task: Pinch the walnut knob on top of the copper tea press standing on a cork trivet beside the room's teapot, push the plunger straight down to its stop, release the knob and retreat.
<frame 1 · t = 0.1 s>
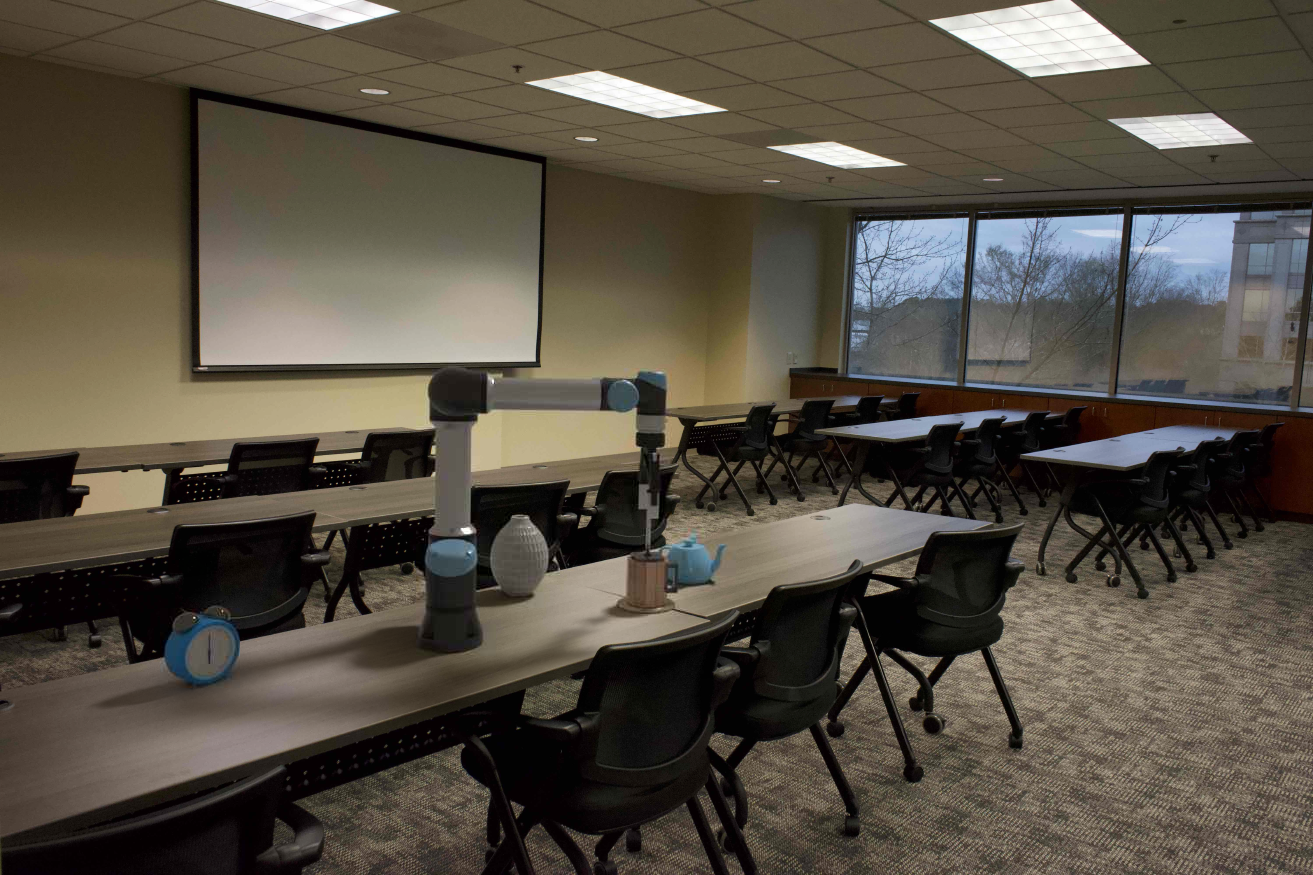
hand: (648, 513, 239), 28 cm above the table, fingers open, 13 cm apart
vase: (518, 594, 264), on the table
alarm clock: (203, 682, 190), on the table
teapot: (690, 580, 286), on the table
plunger: (648, 529, 254), point 21 cm above the table, slide at 0.0 cm
press: (646, 605, 256), on the table
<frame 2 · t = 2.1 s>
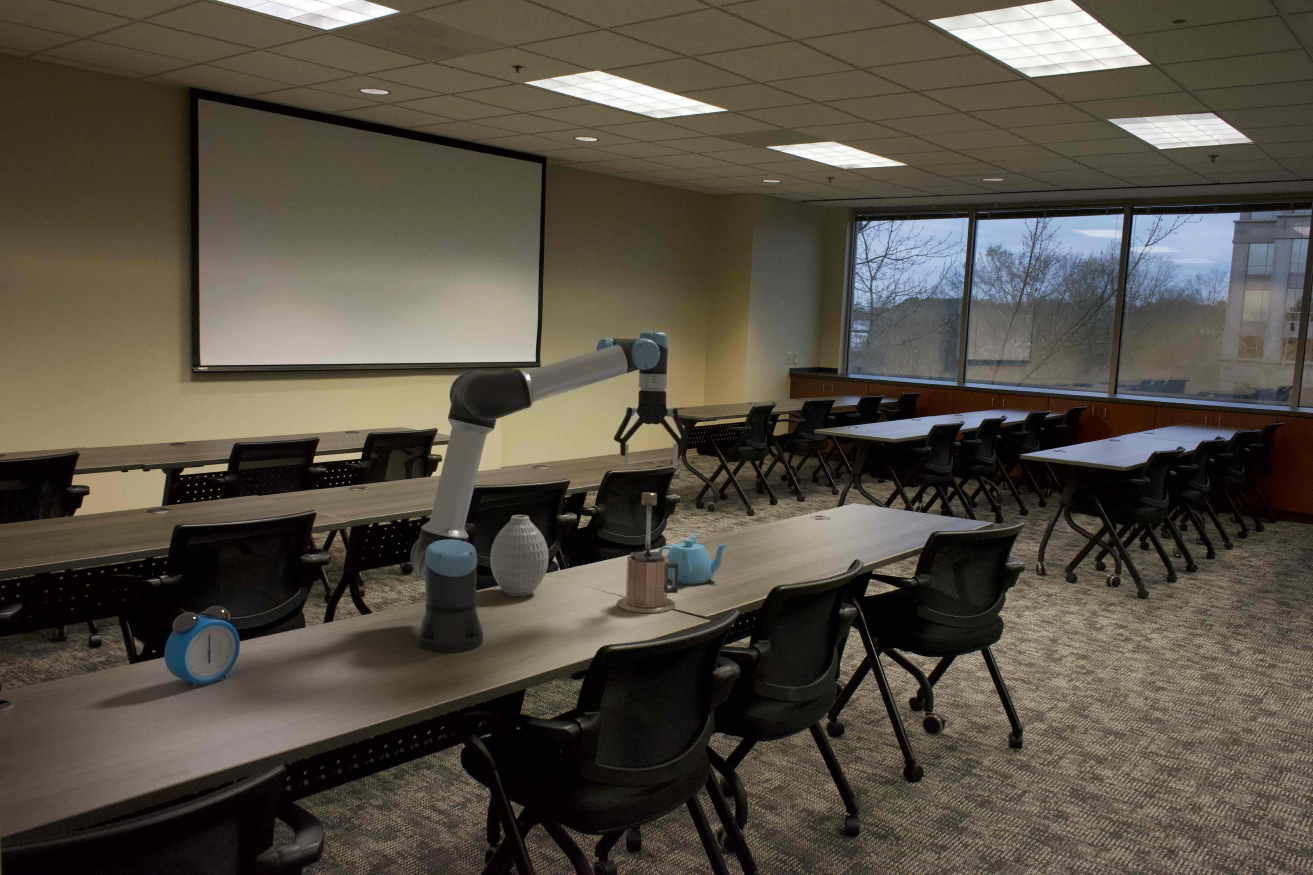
hand: (650, 468, 252), 38 cm above the table, fingers open, 13 cm apart
nothing on the table moved.
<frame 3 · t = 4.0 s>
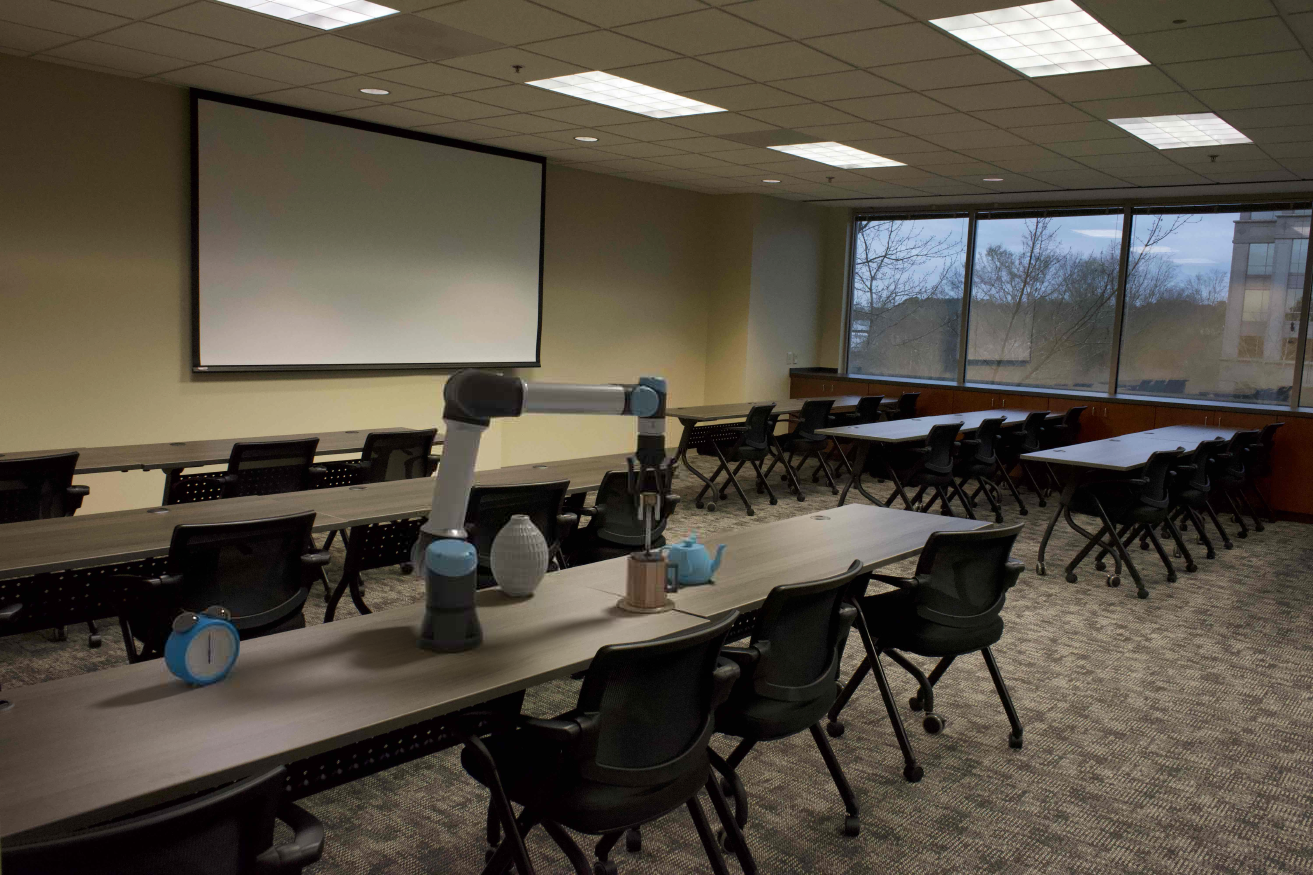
hand: (648, 518, 253), 24 cm above the table, fingers closed on plunger, 4 cm apart
plunger: (648, 529, 254), point 21 cm above the table, slide at -0.1 cm, touching gripper
everything else where it was.
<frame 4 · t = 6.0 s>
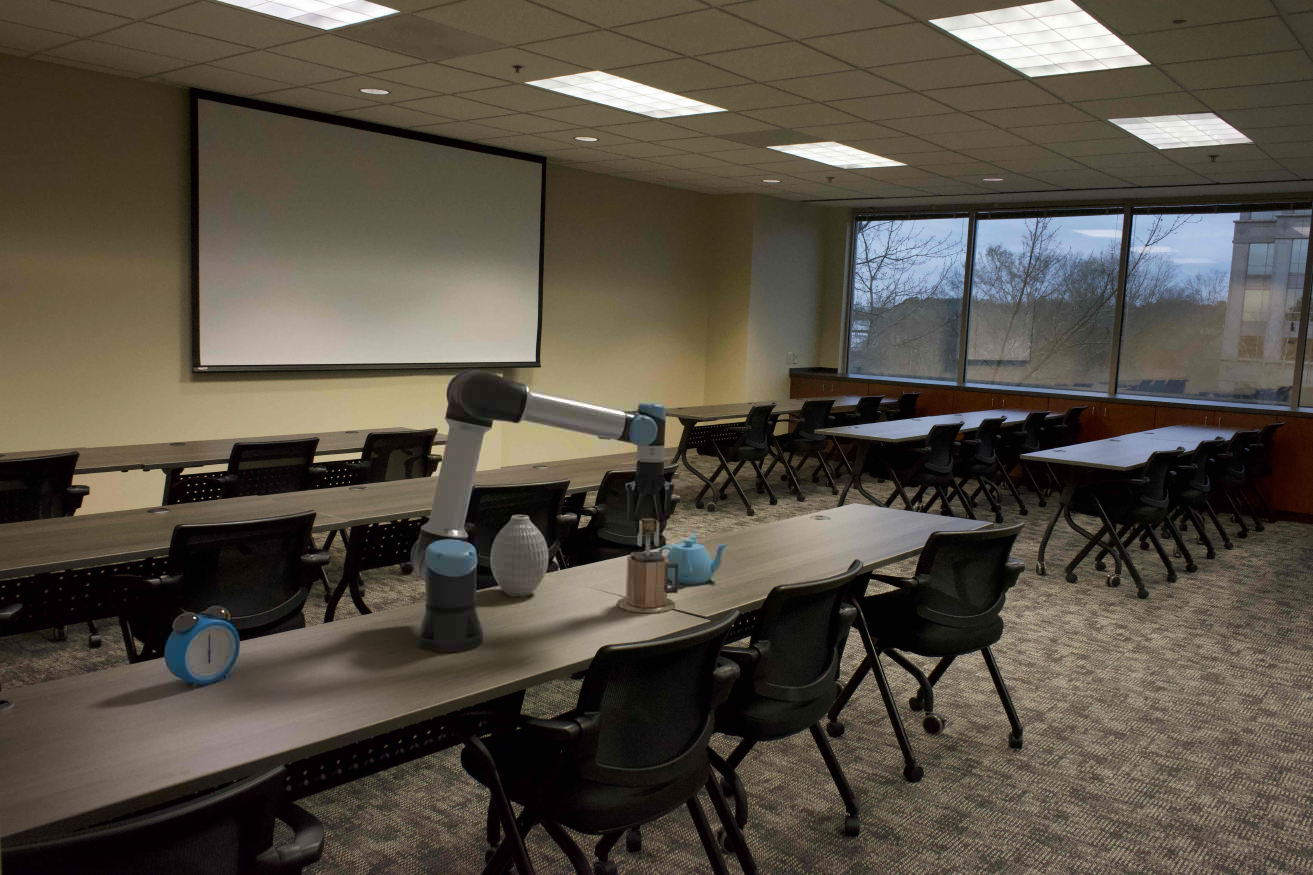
hand: (647, 544, 254), 17 cm above the table, fingers closed on plunger, 4 cm apart
plunger: (647, 555, 254), point 14 cm above the table, slide at 7.2 cm, touching gripper
everything else where it was.
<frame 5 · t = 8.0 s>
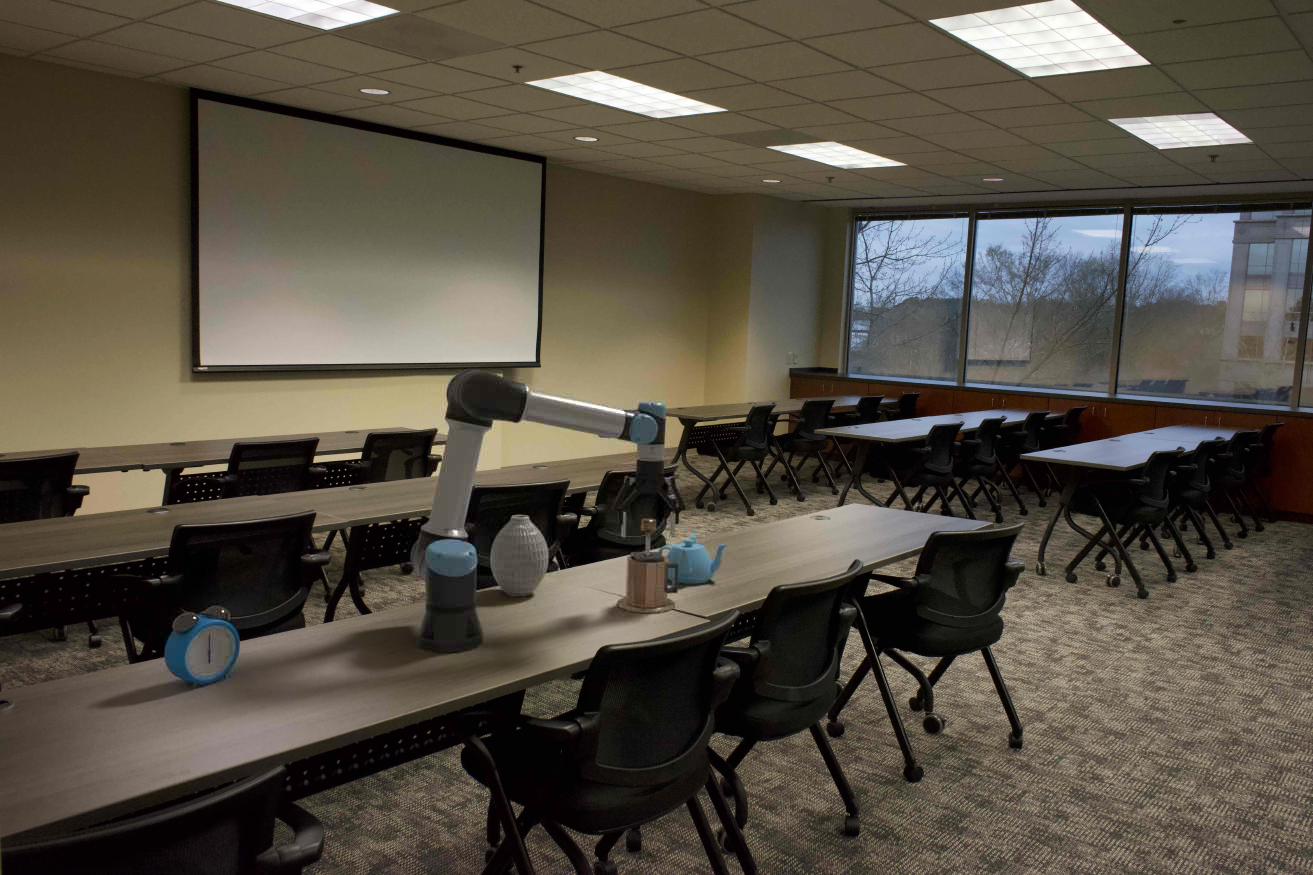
hand: (647, 536, 254), 19 cm above the table, fingers open, 13 cm apart
plunger: (647, 555, 254), point 14 cm above the table, slide at 7.2 cm
everything else where it was.
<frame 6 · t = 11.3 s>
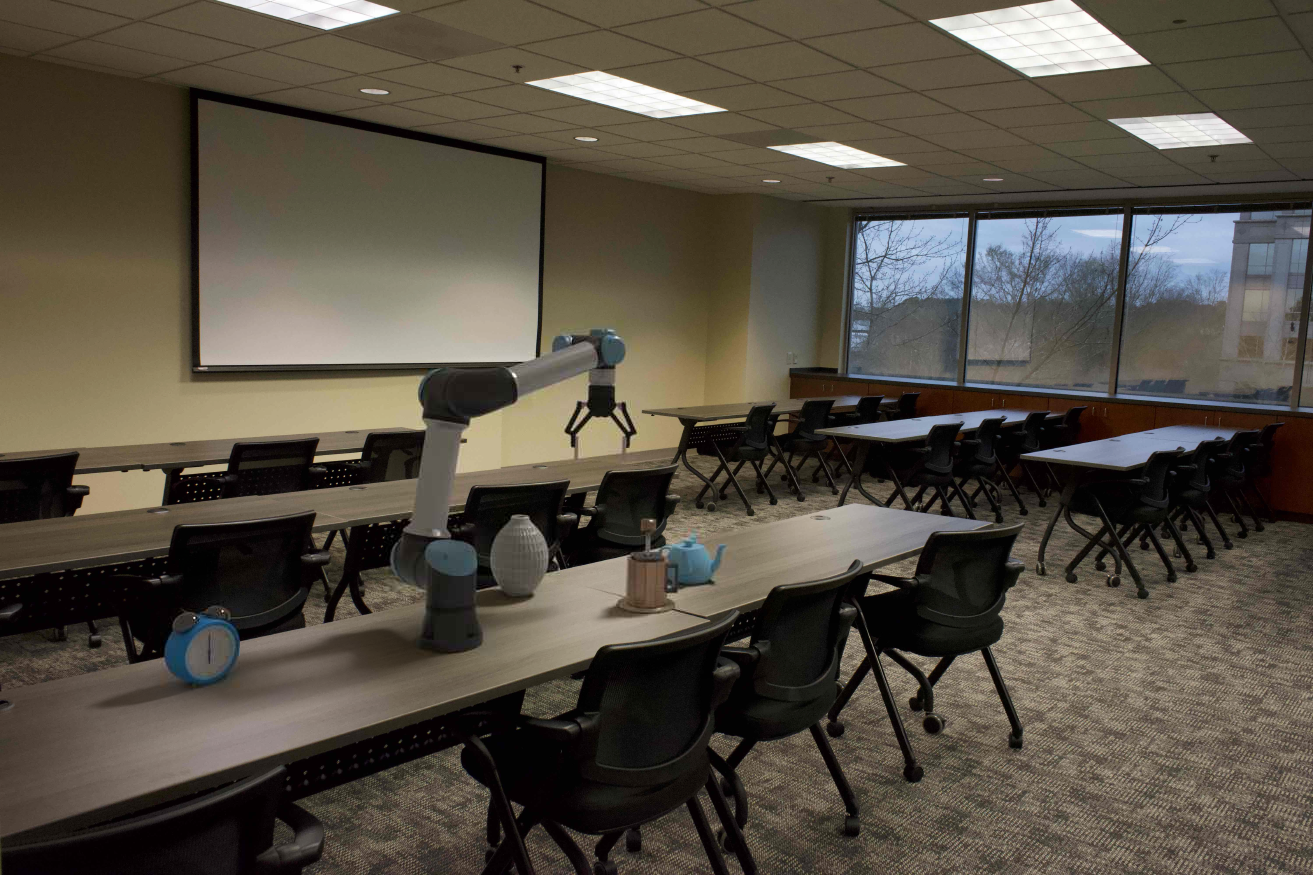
hand: (600, 459, 262), 39 cm above the table, fingers open, 13 cm apart
nothing on the table moved.
at the end: plunger slide at 7.2 cm; the gripper is holding nothing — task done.
